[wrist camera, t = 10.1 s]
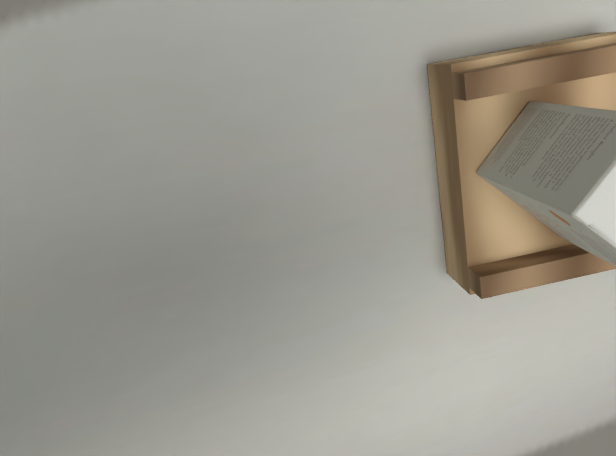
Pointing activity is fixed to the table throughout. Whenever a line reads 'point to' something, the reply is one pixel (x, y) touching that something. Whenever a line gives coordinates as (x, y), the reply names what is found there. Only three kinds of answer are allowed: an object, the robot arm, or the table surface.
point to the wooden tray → (482, 140)
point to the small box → (562, 172)
